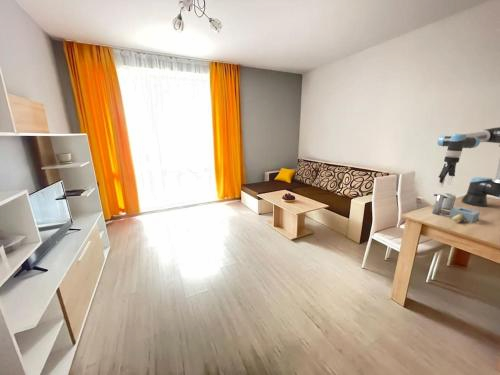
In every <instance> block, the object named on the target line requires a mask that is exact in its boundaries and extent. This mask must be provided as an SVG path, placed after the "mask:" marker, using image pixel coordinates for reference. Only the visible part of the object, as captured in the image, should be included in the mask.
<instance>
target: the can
mask: <svg viewBox="0 0 500 375" xmlns="http://www.w3.org/2000/svg"><path fill="white" fill-rule="evenodd" d="M443 195H444V196H447V198H444V200H443V204H442V207H441V209H443V210H448V211H449V210H450V211H451V209H452V208H454V205H455V202H456V199H457V197H456V194H453V193H449V192H448V193H444V194H443Z"/></svg>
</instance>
